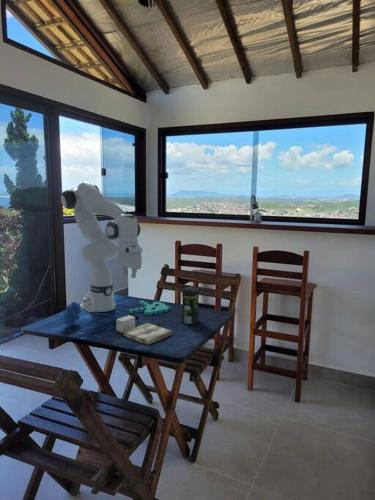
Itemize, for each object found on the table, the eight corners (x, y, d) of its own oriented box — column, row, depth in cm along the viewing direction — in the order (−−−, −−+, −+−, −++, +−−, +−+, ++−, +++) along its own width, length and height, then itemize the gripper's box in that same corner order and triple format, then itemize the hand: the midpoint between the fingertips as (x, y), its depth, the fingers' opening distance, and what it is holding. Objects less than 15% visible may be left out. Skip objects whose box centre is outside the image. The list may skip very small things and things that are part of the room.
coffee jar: (186, 318, 194) (187, 284, 191) (200, 320, 191) (201, 286, 188) (178, 323, 185) (179, 288, 183) (192, 326, 182) (193, 290, 179)
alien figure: (129, 314, 200) (163, 317, 196) (129, 310, 200) (163, 313, 196) (140, 304, 220) (172, 306, 216) (140, 300, 219) (172, 303, 215)
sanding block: (116, 331, 173) (116, 319, 172) (128, 326, 179) (128, 315, 178) (122, 333, 170) (122, 321, 169) (135, 328, 176) (135, 317, 175)
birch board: (123, 335, 167) (123, 331, 167) (147, 326, 179) (147, 322, 179) (147, 344, 157) (147, 340, 157) (171, 334, 169) (171, 330, 169)
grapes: (74, 320, 186) (73, 298, 184) (84, 322, 183) (84, 300, 181) (57, 327, 176) (56, 303, 174) (67, 330, 173) (66, 305, 171)
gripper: (114, 246, 180) (115, 273, 181) (131, 250, 163) (131, 280, 164) (126, 245, 183) (127, 272, 185) (143, 249, 166) (144, 278, 168)
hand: (129, 276), depth 174 cm, fingers open, 8 cm apart
